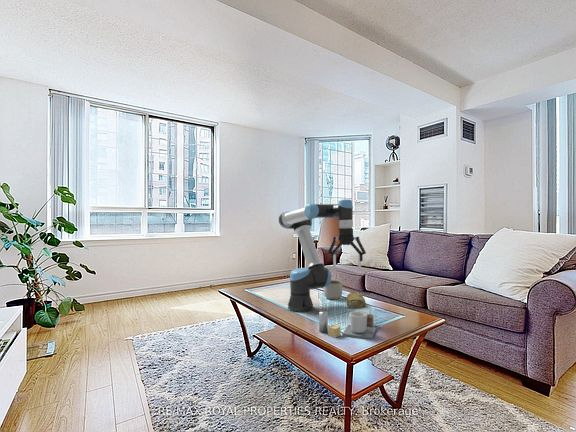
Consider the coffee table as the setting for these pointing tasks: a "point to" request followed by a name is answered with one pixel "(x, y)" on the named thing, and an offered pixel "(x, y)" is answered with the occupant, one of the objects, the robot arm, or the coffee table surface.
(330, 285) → the planter
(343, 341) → the coffee table surface
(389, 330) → the coffee table surface
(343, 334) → the coaster
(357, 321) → the cup
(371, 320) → the walnut block
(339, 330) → the ochre block
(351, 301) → the pastry
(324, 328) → the grey peg
